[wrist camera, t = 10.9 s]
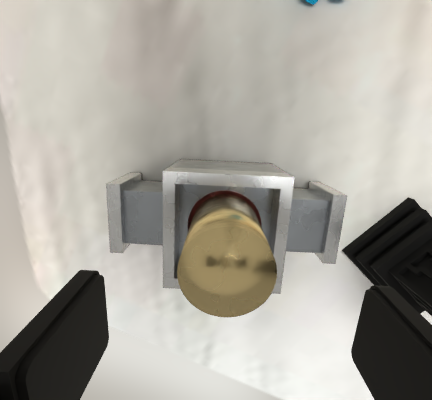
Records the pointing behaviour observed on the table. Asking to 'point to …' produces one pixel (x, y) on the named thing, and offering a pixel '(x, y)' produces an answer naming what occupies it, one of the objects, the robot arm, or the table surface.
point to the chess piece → (399, 254)
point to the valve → (215, 185)
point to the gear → (312, 1)
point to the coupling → (226, 259)
